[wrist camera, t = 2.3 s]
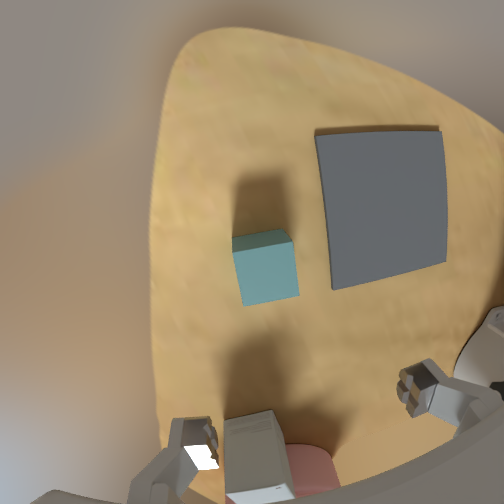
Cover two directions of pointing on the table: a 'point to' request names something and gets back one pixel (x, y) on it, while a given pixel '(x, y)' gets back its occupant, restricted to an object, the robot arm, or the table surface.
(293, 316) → the table surface
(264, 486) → the supplement box
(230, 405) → the table surface
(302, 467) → the cake
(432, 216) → the charcoal mat
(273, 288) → the teal cube
